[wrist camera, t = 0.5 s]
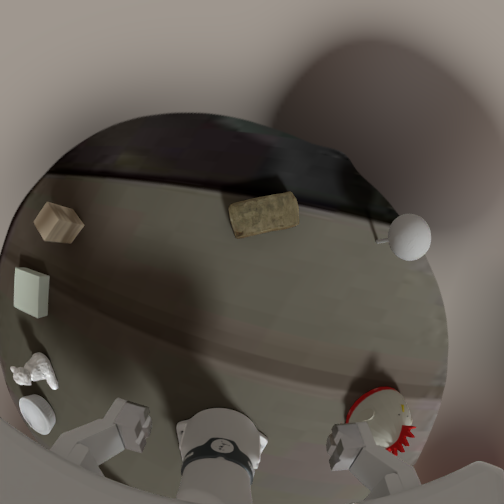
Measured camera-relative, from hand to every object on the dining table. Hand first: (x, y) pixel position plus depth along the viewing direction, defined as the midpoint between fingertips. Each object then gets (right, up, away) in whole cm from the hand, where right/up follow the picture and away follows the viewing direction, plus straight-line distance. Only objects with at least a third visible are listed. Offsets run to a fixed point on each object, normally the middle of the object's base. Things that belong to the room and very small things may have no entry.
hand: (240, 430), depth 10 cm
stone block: (+3, +14, +38) cm, 40 cm away
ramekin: (-54, -34, +35) cm, 73 cm away
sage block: (-48, -1, +36) cm, 60 cm away
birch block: (-36, +13, +37) cm, 53 cm away
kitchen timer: (+27, -28, +38) cm, 54 cm away
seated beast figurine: (-48, -19, +36) cm, 63 cm away
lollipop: (+24, +10, +38) cm, 46 cm away
